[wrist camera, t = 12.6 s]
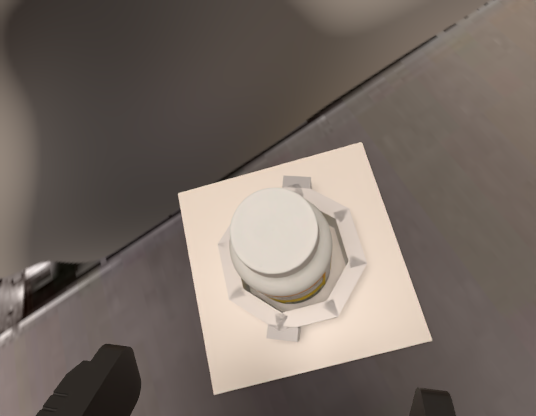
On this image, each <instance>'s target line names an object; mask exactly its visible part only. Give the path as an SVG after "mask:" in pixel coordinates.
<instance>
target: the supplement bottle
mask: <svg viewBox="0 0 536 416" xmlns="http://www.w3.org/2000/svg"><path fill="white" fill-rule="evenodd" d="M332 247H333V243H332V234H331V230H330V227H329V225H328V222H327V220H326V218H325V217H324V215H323V214H322V213H321V211H320V210H319V209H318V208H317V207H316V206H315V205H313V204H312V203H311V202H309V201H308V200H306V199H304V198H303V197H302V196H300V195H299V194H297V193H295V192H293V191H291V190H288V189H284V188H266V189H262V190H259V191H256V192H254V193H253V194H251V195H249V196H248V197H247V198H245V199H244V200H243V201H242V202H241V203H240V205H239V206H238V207H237V209H236V210H235V212H234V214H233V217H232V220H231V224H230V241H229V249H230V256H231V260H232V263H233V265H234V268H235V270H236V271H237V273H238V274H239V276H240V277H241V278H242V279H243V281H244V282H245V283H246V284H248V285H249V286H250V287H252V288H253V289H255V290H256V291H258V292H260V293H261V294H263V295H265V296H267V297H268V298H270V299H272V300H274V301H277V302H280V303H285V304H297V303H302V302H305V301H307V300H309V299H311V298H313V297H314V296H315V295H317V294H318V293H319V292H320V291H321V290H322V288H323V287H324V286H325V284H326V282H327V280H328V277H329V274H330V269H331V257H332Z"/></svg>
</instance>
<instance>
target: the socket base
mask: <svg viewBox="0 0 536 416" xmlns="http://www.w3.org/2000/svg"><path fill="white" fill-rule="evenodd" d="M266 188H284V189H288V190H291V191H293V192H295V193H297V194H299V195H300V196H302V197H303V198H304V199H306V200H308V201H309V202H311V203H312V204H313V205H315V206H316V207H317V208H318V209H319V210H320V211H321V213H322V214H323V215H324V217H325V218H326V220H327V222H328V225H329V227H330V230H331V234H332V243H333V247H332V257H331V269H330V274H329V277H328V280H327V282H326V284H325V286H324V287H323V288H322V290H321V291H320V292H319V293H318V294H317V295H315V296H314V297H313V298H311V299H309V300H307V301H305V302H302V303H297V304H285V303H280V302H277V301H274V300H272V299H270V298H268V297H267V296H265V295H263V294H261V293H260V292H258V291H256V290H255V289H253V288H252V287H250V286H249V285H248V284H246V283H245V282H244V281H243V279H242V278H241V277H240V276H239V274H238V273H237V271H236V270H235V268H234V265H233V263H232V260H231V256H230V249H229V241H230V224H231V220H232V217H233V214H234V212H235V210H236V209H237V207H238V206H239V205H240V203H241V202H242V201H243V200H244V199H245V198H247V197H248V196H249V195H251V194H253V193H254V192H256V191H259V190H262V189H266ZM178 196H179V202H180V208H181V213H182V219H183V225H184V230H185V236H186V241H187V247H188V253H189V258H190V264H191V269H192V275H193V280H194V286H195V292H196V297H197V303H198V308H199V314H200V320H201V325H202V331H203V336H204V342H205V347H206V353H207V359H208V364H209V370H210V375H211V381H212V387H213V392H214V395H216V394H220V393H224V392H228V391H232V390H236V389H240V388H244V387H248V386H252V385H256V384H260V383H264V382H268V381H272V380H276V379H280V378H284V377H288V376H292V375H296V374H300V373H304V372H308V371H312V370H316V369H320V368H324V367H328V366H332V365H336V364H340V363H344V362H348V361H352V360H356V359H360V358H364V357H369V356H373V355H377V354H381V353H385V352H389V351H393V350H397V349H401V348H405V347H409V346H413V345H417V344H421V343H425V342H429V341H432V338H431V335H430V332H429V330H428V327H427V324H426V321H425V318H424V316H423V313H422V310H421V307H420V304H419V302H418V299H417V296H416V293H415V290H414V288H413V285H412V282H411V279H410V276H409V274H408V271H407V268H406V265H405V262H404V260H403V257H402V254H401V251H400V248H399V245H398V243H397V240H396V237H395V234H394V231H393V229H392V226H391V223H390V220H389V217H388V215H387V212H386V209H385V206H384V203H383V201H382V198H381V195H380V192H379V189H378V187H377V184H376V181H375V178H374V175H373V173H372V170H371V167H370V164H369V161H368V159H367V156H366V153H365V150H364V147H363V144H362V142H360V143H356V144H353V145H349V146H346V147H342V148H339V149H335V150H331V151H328V152H324V153H321V154H317V155H314V156H310V157H306V158H303V159H299V160H296V161H292V162H289V163H285V164H281V165H278V166H274V167H271V168H267V169H264V170H260V171H256V172H253V173H249V174H246V175H242V176H239V177H235V178H231V179H228V180H224V181H221V182H217V183H213V184H210V185H206V186H203V187H199V188H196V189H192V190H188V191H185V192H181V193H178Z"/></svg>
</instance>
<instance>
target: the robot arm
mask: <svg viewBox="0 0 536 416" xmlns="http://www.w3.org/2000/svg"><path fill="white" fill-rule="evenodd" d="M140 390H141V378H140V375H139V371H138V367H137V363H136V360H135V356H134V352H133V349H132V348H131V347H127V346H120V345H113V344H104V345H103V346H102V347H101V348H100V349H99V350H98V352H97V353H96V354H95V356H94V357H93V359H92V360H91V361H82V362H81V363H80V364H79V365H77V366H76V367H75V368H74V369H72V370H71V371H70V372H69V373H67V374H66V376H65V377H64V378H63V380H62V381H61V382H60V384H59V385H58V386H57V388H56V389H55V390H54V393H53V395H51V396H50V397H49V399H48V400H47V401H46V403H45V404H44V405H43V409H42V410H40V411H39V412H38V413H37V415H36V416H130V415H131V413H132V411H133V409H134V407H135V405H136V403H137V401H138V398H139V395H140ZM409 416H456V415H455V411H454V407H453V403H452V399H451V396H450V394H449V393H448V392H447V391H440V390H433V389H426V388H417V389H416V391H415V395H414V399H413V403H412V407H411V411H410V415H409Z"/></svg>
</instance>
